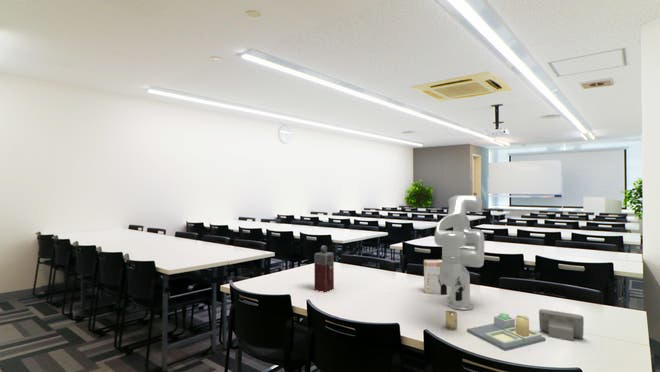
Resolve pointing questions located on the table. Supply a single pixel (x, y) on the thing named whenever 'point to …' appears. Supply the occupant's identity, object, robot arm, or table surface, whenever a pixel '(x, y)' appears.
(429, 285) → the coffeecake box
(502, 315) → the button
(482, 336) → the station
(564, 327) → the digital clock
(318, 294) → the table surface
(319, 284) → the square decanter bottle
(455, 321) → the cylinder
